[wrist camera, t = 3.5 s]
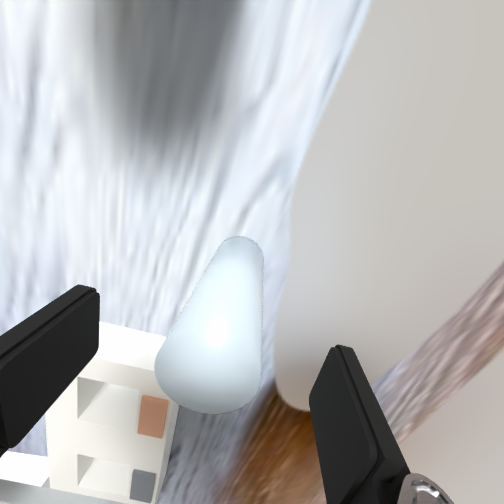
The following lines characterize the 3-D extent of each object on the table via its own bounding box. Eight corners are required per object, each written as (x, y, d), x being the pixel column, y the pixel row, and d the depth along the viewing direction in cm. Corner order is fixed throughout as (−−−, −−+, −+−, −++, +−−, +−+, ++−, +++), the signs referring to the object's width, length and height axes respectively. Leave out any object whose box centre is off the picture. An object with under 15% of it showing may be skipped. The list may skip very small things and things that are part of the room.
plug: (270, 272, 21) (276, 399, 9) (227, 287, 21) (184, 423, 10) (252, 228, 20) (234, 315, 8) (207, 246, 20) (134, 348, 9)
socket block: (166, 471, 30) (151, 519, 26) (77, 452, 30) (47, 497, 26) (191, 342, 24) (176, 379, 19) (77, 316, 23) (37, 347, 19)
